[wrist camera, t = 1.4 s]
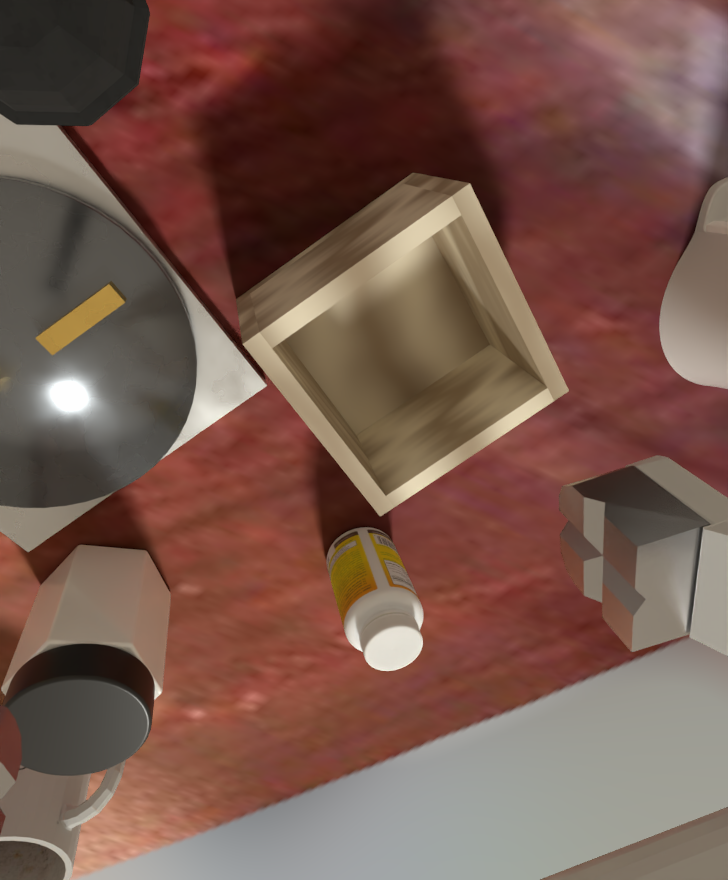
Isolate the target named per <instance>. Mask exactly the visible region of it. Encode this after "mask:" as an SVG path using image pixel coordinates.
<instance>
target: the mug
mask: <svg viewBox="0 0 728 880" xmlns="http://www.w3.org/2000/svg"><path fill="white" fill-rule="evenodd" d="M125 761H126V760H125ZM125 761H123V762H121V763H120V764H118V765H116V766H113V767H111V768H108V769H107V772H106V774H105V777H104V779H103V781H102V783H101V785H100V787H99V788H98V789H97V790H96V791H95V793H94V794H93V795H92V796H91V797H90V798H89V799H88V800H86V797H87V791H88V786H89V781H90V776H91V774H85V775H76V776H59V775H50V774H44V773H40V772H36V771H33V770H30V769H28V768H26V767H23V766H21V765H20V768H19V772H18V776H17V779H16V782H15V783H14V784H13V786H12V787H11V788H10V789H9V791H8V792H7V793H6V794H5V795H4V797H3V798H2V799H1V800H0V808H1V809H2V811H3V813H4V814H5V816H6V817H5V821H4V824H3V827H2V831H1V834H0V880H70V878H71V875H72V870H73V865H74V860H75V855H76V849H77V844H78V839H79V834H80V828H81V824H82V823H85V822H86V821H88V820H89V819H91V818H92V817H94V816H95V815H97V814H98V813H100V812H101V810H102V809H103V808H104V806H105V805H106V804H107V803H108V801H109V800H110V799H111V798H112V796H113V795H114V793H115V790H116V788H117V786H118V784H119V781H120V779H121V777H122V774H123V769H124V765H125Z"/></svg>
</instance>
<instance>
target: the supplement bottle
mask: <svg viewBox="0 0 728 880" xmlns="http://www.w3.org/2000/svg"><path fill="white" fill-rule="evenodd" d="M327 569H328V572H329V576H330V580H331V583H332V587H333V591H334V594H335V598H336V602H337V605H338V609H339V613H340V616H341V620H342V623H343V627H344V631H345V634H346V637H347V639H348V640H349V642H350V643H351V644H352V645H353V646H354V647H355V648H356V649H358V650H360V651H362V652H363V654H364V657H365V659H366V661H367V663H368V664H369V665H370V666H371V667H373V668H375V669H378V670H382V671H392V670H397V669H400V668H402V667H405V666H407V665H408V664H410V663H411V662H412V661H413V660H415V659H416V658H417V656H418V655H419V653H420V651H421V649H422V646H423V639H422V635H421V633H420V628H421V625H422V622H423V608H422V605H421V603H420V600H419V598H418V596H417V594H416V592H415V589H414V587H413V585H412V583H411V581H410V578H409V576H408V574H407V572H406V569H405V567H404V565H403V563H402V561H401V559H400V557H399V554H398V552H397V550H396V548H395V545H394V543H393V542H392V540H391V539H390V537H389V536H388V535H387V534H385V533H384V532H382V531H381V530H378V529H375V528H370V527H360V528H356V529H352V530H349V531H347V532H345V533H344V534H342V535H341V536H339V537H338V538H337V539H336V540H335V541H334V542H333V544H332V545H331V547H330V549H329V551H328V554H327Z"/></svg>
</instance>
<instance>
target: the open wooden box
mask: <svg viewBox="0 0 728 880" xmlns="http://www.w3.org/2000/svg"><path fill="white" fill-rule="evenodd" d="M236 302H237V309H238V316H239V323H240V330H241V337H242V344H243V345H244V347H245V348H246V349H247V350H248V352H249V353H250V354H251V355H252V357H253V358H254V359H255V360H256V362H257V363H258V364H259V365H260V367H261V368H262V369H263V370H264V372H265V373H266V374H267V376H268V377H269V378H270V379H271V381H272V382H273V383H274V384H275V386H276V387H277V388H278V389H279V391H280V392H281V393H282V394H283V396H284V397H285V398H286V399H287V401H288V402H289V403H290V404H291V406H292V407H293V408H294V409H295V411H296V412H297V413H298V414H299V416H300V417H301V418H302V419H303V421H304V422H305V423H306V424H307V426H308V427H309V428H310V429H311V431H312V432H313V433H314V434H315V436H316V437H317V438H318V439H319V441H320V442H321V443H322V444H323V446H324V447H325V448H326V449H327V451H328V452H329V453H330V454H331V456H332V457H333V458H334V459H335V461H336V462H337V463H338V464H339V466H340V467H341V468H342V469H343V471H344V472H345V473H346V474H347V476H348V477H349V478H350V479H351V481H352V482H353V483H354V485H355V486H356V487H357V488H358V490H359V491H360V492H361V493H362V495H363V496H364V497H365V498H366V500H367V501H368V502H369V503H370V505H371V506H372V507H373V508H374V510H375V511H376V512H377V513H378V515H379V516H380V517H381V516H382V515H384V514H385V513H387V512H388V511H390V510H391V509H393V508H394V507H396V506H397V505H399V504H400V503H402V502H403V501H405V500H406V499H408V498H409V497H411V496H412V495H414V494H415V493H417V492H418V491H420V490H421V489H423V488H424V487H426V486H427V485H429V484H430V483H432V482H433V481H435V480H436V479H438V478H439V477H441V476H442V475H444V474H445V473H447V472H448V471H450V470H451V469H453V468H454V467H456V466H457V465H459V464H460V463H462V462H463V461H465V460H466V459H468V458H469V457H471V456H472V455H474V454H475V453H477V452H478V451H480V450H481V449H483V448H484V447H486V446H487V445H489V444H490V443H492V442H493V441H495V440H496V439H498V438H499V437H501V436H502V435H504V434H505V433H507V432H508V431H510V430H511V429H513V428H514V427H516V426H517V425H519V424H520V423H522V422H523V421H525V420H526V419H528V418H529V417H531V416H532V415H534V414H535V413H537V412H538V411H540V410H541V409H543V408H544V407H546V406H547V405H549V404H550V403H552V402H553V401H555V400H556V399H558V398H559V397H561V396H562V395H564V394H565V393H567V392H568V391H569V390H568V388H567V386H566V384H565V382H564V379H563V377H562V375H561V373H560V371H559V369H558V367H557V365H556V363H555V361H554V359H553V356H552V354H551V352H550V350H549V348H548V346H547V344H546V342H545V340H544V338H543V335H542V333H541V331H540V329H539V327H538V325H537V323H536V321H535V319H534V317H533V314H532V312H531V310H530V308H529V306H528V304H527V302H526V300H525V298H524V296H523V294H522V291H521V289H520V287H519V285H518V283H517V281H516V279H515V277H514V275H513V273H512V270H511V268H510V266H509V264H508V262H507V260H506V258H505V256H504V254H503V252H502V249H501V247H500V245H499V243H498V241H497V239H496V237H495V235H494V233H493V231H492V229H491V226H490V224H489V222H488V220H487V218H486V216H485V214H484V212H483V210H482V208H481V205H480V203H479V201H478V199H477V197H476V195H475V193H474V191H473V189H472V187H471V184H470V183H466V182H461V181H455V180H450V179H445V178H440V177H434V176H429V175H424V174H418V173H412V174H410V175H409V176H407V177H406V178H405V179H403V180H402V181H400V182H399V183H398V184H396V185H395V186H394V187H392V188H391V189H389V190H388V191H387V192H385V193H384V194H382V195H381V196H380V197H378V198H377V199H375V200H374V201H373V202H371V203H370V204H368V205H367V206H366V207H364V208H363V209H361V210H360V211H359V212H357V213H356V214H354V215H353V216H352V217H350V218H349V219H347V220H346V221H345V222H343V223H342V224H340V225H339V226H338V227H336V228H335V229H333V230H332V231H331V232H329V233H328V234H326V235H325V236H324V237H322V238H321V239H319V240H318V241H317V242H315V243H314V244H313V245H311V246H310V247H308V248H307V249H306V250H304V251H303V252H301V253H300V254H299V255H297V256H296V257H294V258H293V259H292V260H290V261H289V262H287V263H286V264H285V265H283V266H282V267H280V268H279V269H278V270H276V271H275V272H273V273H272V274H271V275H269V276H268V277H266V278H265V279H264V280H262V281H261V282H259V283H258V284H257V285H255V286H254V287H252V288H251V289H250V290H248V291H247V292H245V293H244V294H243V295H241V296H240V297H239V298H237V299H236Z"/></svg>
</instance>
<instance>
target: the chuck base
mask: <svg viewBox="0 0 728 880" xmlns="http://www.w3.org/2000/svg"><path fill="white" fill-rule="evenodd" d="M0 176H1V177H8V178H15V179H22V180H26V181H29V182H33V183H37V184H41V185H45V186H48V187H51V188H54V189H56V190H59V191H61V192H64V193H66V194H69V195H71V196H74V197H76V198H78V199H80V200H82V201H84V202H86V203H87V204H89V205H91V206H93V207H95V208H97V209H99V210H100V211H102V212H103V213H105V214H106V215H108V216H109V217H110V218H112V219H113V220H115V221H116V222H118V223H119V224H121V225H122V226H123V227H124V228H125V229H127V230H128V231H129V232H130V233H131V234H132V235H133V236H135V237H136V238H137V239H138V240H139V241H140V242H141V243H142V244H143V245H144V246H145V247H146V248H147V249H148V250H149V251H150V252H151V254H152V255H153V256H154V257H155V258H156V259H157V260H158V262H159V263H160V264H161V266H162V267H163V268H164V270H165V271H166V273H167V274H168V275H169V277H170V278H171V280H172V282H173V283H174V285H175V287H176V289H177V291H178V292H179V294H180V296H181V298H182V300H183V302H184V305H185V308H186V310H187V313H188V315H189V318H190V321H191V325H192V329H193V333H194V337H195V343H196V352H197V379H196V388H195V394H194V399H193V404H192V407H191V410H190V413H189V416H188V418H187V421H186V423H185V425H184V427H183V429H182V431H181V433H180V435H179V437H178V438H177V440H176V441H175V442H174V444H173V445H172V447H171V448H170V449H169V451H168V452H167V453H166V454H165V455H164V456H163V457H162V459H163V458H164V457H165V456H167V455H168V454H170V453H171V452H173V451H174V450H176V449H177V448H178V447H180V446H181V445H183V444H184V443H186V442H187V441H188V440H190V439H191V438H193V437H194V436H196V435H197V434H198V433H200V432H201V431H203V430H204V429H206V428H207V427H208V426H210V425H211V424H213V423H214V422H216V421H217V420H218V419H220V418H221V417H223V416H224V415H226V414H227V413H228V412H230V411H231V410H233V409H234V408H236V407H237V406H238V405H240V404H241V403H243V402H244V401H246V400H247V399H248V398H250V397H251V396H253V395H254V394H256V393H257V392H258V391H260V390H261V389H263V388H264V387H266V386H267V384H266V380H265V379H264V377H263V376H262V375H261V374H260V372H259V371H258V370H257V369H256V367H255V366H254V365H253V364H252V362H251V361H250V360H249V359H248V357H247V356H246V355H245V354H244V352H243V351H242V350H241V349H240V348H239V346H238V345H237V344H236V343H235V341H234V340H233V339H232V338H231V336H230V335H229V334H228V333H227V331H226V330H225V329H224V328H223V326H222V325H221V324H220V323H219V321H218V320H217V319H216V318H215V316H214V315H213V314H212V313H211V311H210V310H209V309H208V308H207V306H206V305H205V304H204V303H203V302H202V300H201V299H200V298H199V297H198V295H197V294H196V293H195V292H194V290H193V289H192V288H191V287H190V285H189V284H188V283H187V282H186V280H185V279H184V278H183V277H182V275H181V274H180V273H179V272H178V270H177V269H176V268H175V267H174V265H173V264H172V263H171V262H170V260H169V259H168V258H167V257H166V256H165V254H164V253H163V252H162V251H161V249H160V248H159V247H158V246H157V244H156V243H155V242H154V241H153V239H152V238H151V237H150V236H149V234H148V233H147V232H146V231H145V229H144V228H143V227H142V226H141V224H140V223H139V222H138V221H137V219H136V218H135V217H134V216H133V214H132V213H131V212H130V211H129V209H128V208H127V207H126V206H125V205H124V203H123V202H122V201H121V200H120V198H119V197H118V196H117V195H116V193H115V192H114V191H113V190H112V188H111V187H110V186H109V185H108V183H107V182H106V181H105V180H104V178H103V177H102V176H101V175H100V173H99V172H98V171H97V170H96V168H95V167H94V166H93V165H92V163H91V162H90V161H89V160H88V159H87V157H86V156H85V155H84V154H83V152H82V151H81V150H80V149H79V147H78V146H77V145H76V144H75V142H74V141H73V140H72V139H71V137H70V136H69V135H68V134H67V132H66V131H65V130H64V129H63V127H62V126H59V125H16V124H15V123H13V122H12V121H10V120H9V119H7V118H6V117H4V116H3V115H1V114H0ZM113 493H114V492H112V493H110V494H108V495H106V496H103V497H100V498H97V499H93V500H90V501H87V502H83V503H78V504H73V505H68V506H60V507H49V508H19V507H10V506H0V531H1V532H2V533H3V534H5V535H6V536H7V537H9V538H10V539H11V540H12V541H14V542H15V543H16V544H18V545H19V546H20V547H22V548H23V549H24V550H26V551H27V552H30V551H31V550H32V549H34V548H35V547H37V546H38V545H40V544H41V543H42V542H44V541H45V540H47V539H48V538H50V537H51V536H52V535H54V534H55V533H57V532H58V531H60V530H61V529H62V528H64V527H65V526H67V525H68V524H70V523H71V522H72V521H74V520H75V519H77V518H78V517H80V516H81V515H82V514H84V513H85V512H87V511H88V510H90V509H91V508H93V507H94V506H95V505H97V504H98V503H100V502H101V501H103V500H104V499H105V498H107V497H108V496H110V495H111V494H113Z"/></svg>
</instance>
